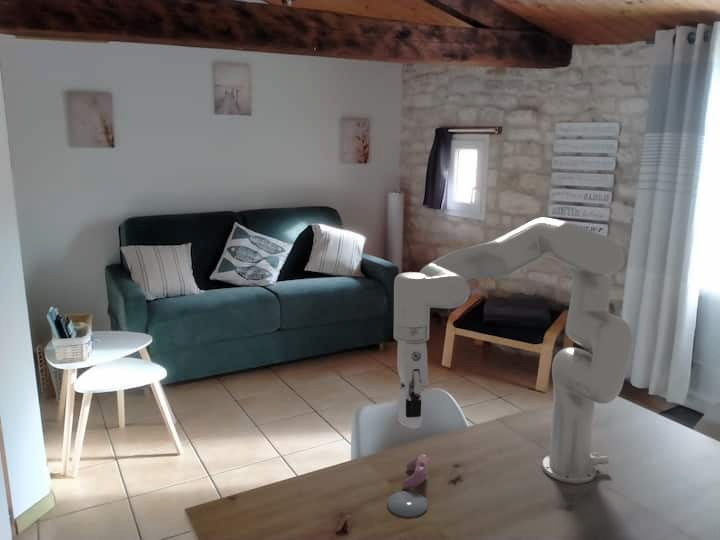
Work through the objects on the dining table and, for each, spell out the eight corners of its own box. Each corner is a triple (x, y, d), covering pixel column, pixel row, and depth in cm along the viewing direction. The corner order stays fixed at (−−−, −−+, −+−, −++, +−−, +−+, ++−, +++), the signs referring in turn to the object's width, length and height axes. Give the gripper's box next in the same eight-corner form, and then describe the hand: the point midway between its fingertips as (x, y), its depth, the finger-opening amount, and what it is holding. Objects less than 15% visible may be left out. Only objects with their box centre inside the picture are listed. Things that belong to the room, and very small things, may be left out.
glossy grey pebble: (422, 492, 142) (422, 489, 142) (431, 515, 133) (431, 512, 133) (384, 495, 141) (384, 492, 141) (391, 518, 132) (391, 516, 132)
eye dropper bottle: (415, 417, 136) (416, 367, 133) (423, 428, 131) (424, 376, 128) (396, 419, 135) (397, 369, 132) (404, 431, 130) (404, 378, 127)
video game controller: (417, 497, 143) (431, 474, 141) (400, 487, 143) (414, 465, 141) (421, 475, 152) (434, 453, 150) (405, 466, 152) (418, 444, 150)
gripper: (439, 343, 121) (437, 427, 124) (419, 318, 137) (417, 393, 141) (402, 345, 120) (401, 429, 123) (386, 319, 136) (386, 395, 140)
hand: (410, 409), depth 132 cm, fingers closed on eye dropper bottle, 5 cm apart
